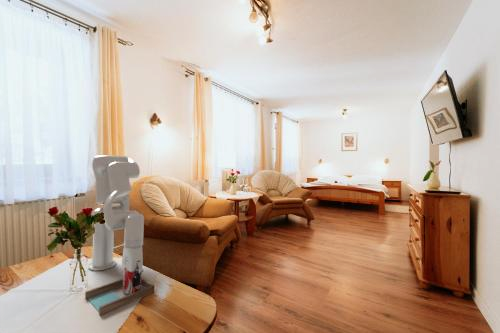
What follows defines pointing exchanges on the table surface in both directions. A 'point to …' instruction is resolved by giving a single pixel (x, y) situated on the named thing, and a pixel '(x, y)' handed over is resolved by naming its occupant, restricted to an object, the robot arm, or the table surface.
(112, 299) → the front mat
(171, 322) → the table surface
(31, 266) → the table surface
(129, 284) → the soda can
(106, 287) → the bay
